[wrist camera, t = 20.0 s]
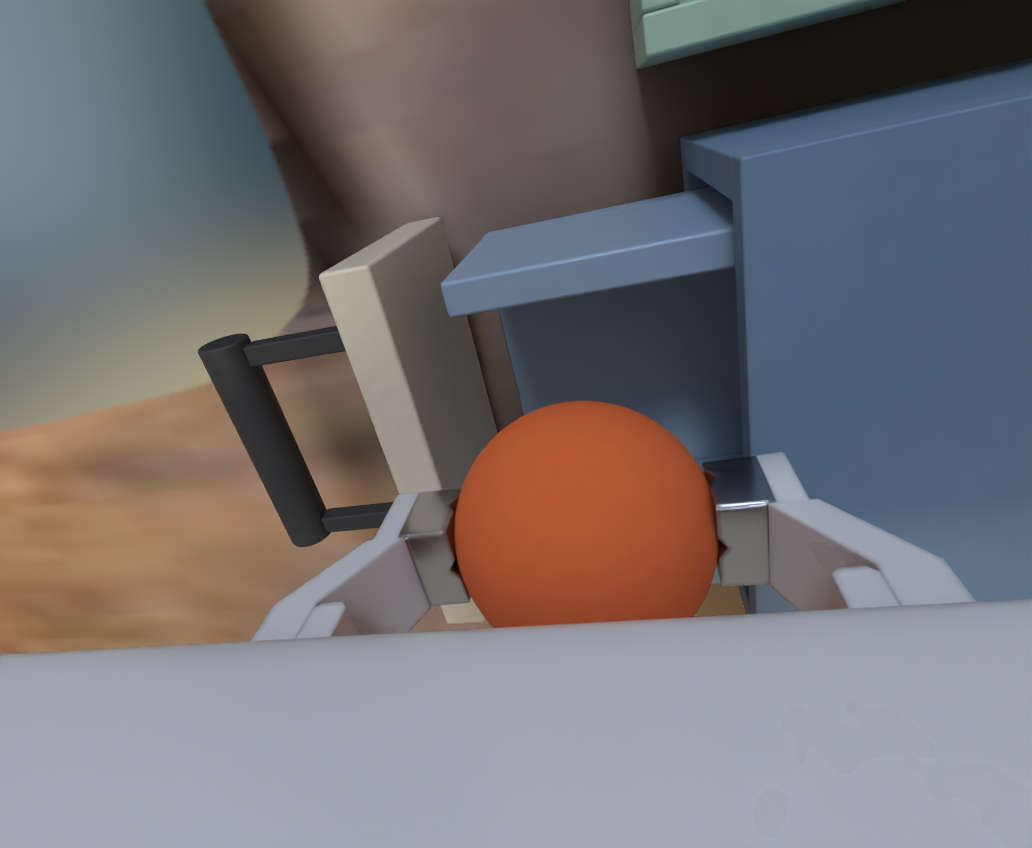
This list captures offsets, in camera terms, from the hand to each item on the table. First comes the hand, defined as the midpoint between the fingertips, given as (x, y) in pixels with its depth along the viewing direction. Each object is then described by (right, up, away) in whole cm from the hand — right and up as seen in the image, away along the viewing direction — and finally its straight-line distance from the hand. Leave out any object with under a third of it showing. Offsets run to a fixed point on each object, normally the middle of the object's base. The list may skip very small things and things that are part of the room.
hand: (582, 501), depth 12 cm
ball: (0, 0, -1) cm, 1 cm away
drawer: (0, +4, +7) cm, 8 cm away
